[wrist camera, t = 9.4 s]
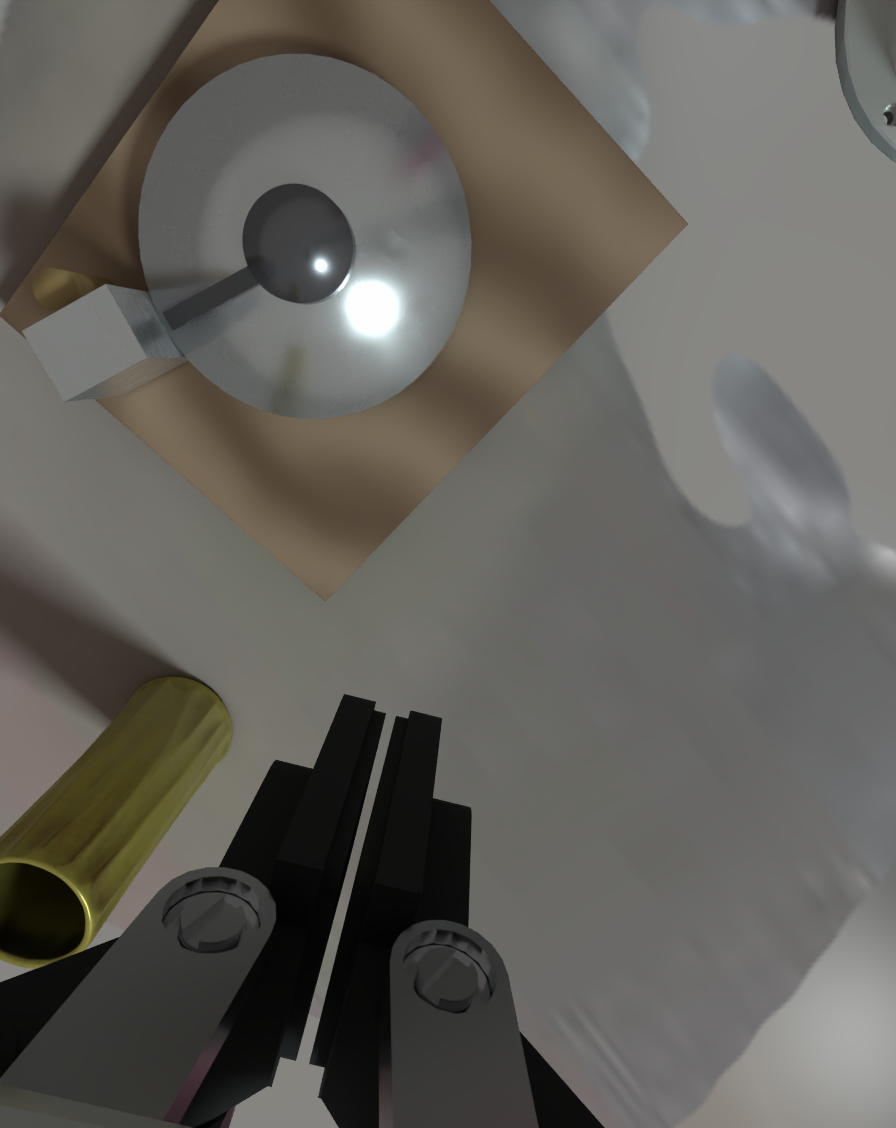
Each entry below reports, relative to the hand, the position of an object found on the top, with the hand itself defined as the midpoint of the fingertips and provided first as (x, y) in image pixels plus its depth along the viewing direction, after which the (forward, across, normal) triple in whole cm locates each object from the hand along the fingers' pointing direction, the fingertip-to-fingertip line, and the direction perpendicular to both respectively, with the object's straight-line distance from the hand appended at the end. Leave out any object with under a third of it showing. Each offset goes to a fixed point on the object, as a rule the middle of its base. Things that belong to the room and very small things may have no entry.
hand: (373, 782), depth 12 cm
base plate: (+25, +8, -9) cm, 27 cm away
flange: (+23, +10, -8) cm, 26 cm away
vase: (+25, +12, +17) cm, 32 cm away
